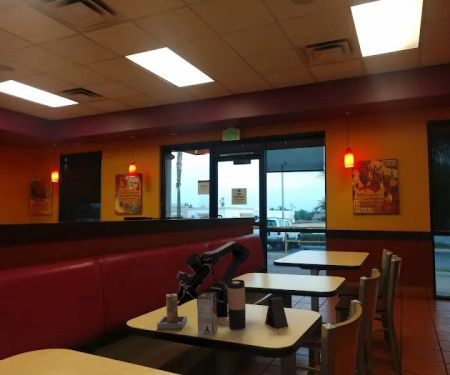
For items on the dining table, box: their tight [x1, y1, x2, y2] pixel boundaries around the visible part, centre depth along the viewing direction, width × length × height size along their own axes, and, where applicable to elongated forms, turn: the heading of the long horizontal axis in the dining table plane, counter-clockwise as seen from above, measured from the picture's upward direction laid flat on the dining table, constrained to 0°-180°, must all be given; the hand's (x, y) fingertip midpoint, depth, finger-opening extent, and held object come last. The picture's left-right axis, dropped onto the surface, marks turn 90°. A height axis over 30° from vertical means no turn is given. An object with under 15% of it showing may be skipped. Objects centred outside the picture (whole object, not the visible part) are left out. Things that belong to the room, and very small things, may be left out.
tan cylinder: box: [165, 293, 179, 323], centre depth 171 cm, size 4×4×13 cm
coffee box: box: [196, 291, 218, 338], centre depth 160 cm, size 9×6×16 cm
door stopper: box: [264, 296, 289, 330], centre depth 167 cm, size 9×6×12 cm, turn 29°
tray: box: [156, 315, 188, 331], centre depth 171 cm, size 11×11×2 cm
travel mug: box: [228, 279, 247, 331], centre depth 166 cm, size 8×8×20 cm
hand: (176, 303), depth 172 cm, fingers open, 9 cm apart
